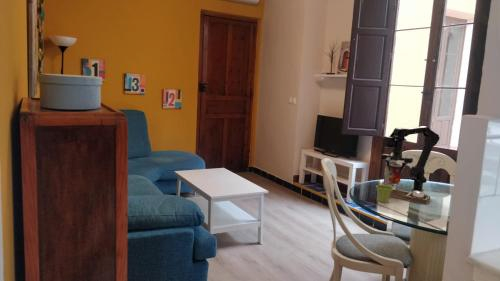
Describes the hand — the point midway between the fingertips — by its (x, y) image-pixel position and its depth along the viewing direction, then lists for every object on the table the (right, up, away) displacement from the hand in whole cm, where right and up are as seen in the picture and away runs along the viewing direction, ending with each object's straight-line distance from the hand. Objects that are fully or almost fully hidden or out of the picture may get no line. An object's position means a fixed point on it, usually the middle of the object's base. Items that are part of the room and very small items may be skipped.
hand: (395, 171), depth 259 cm
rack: (+3, -15, -13) cm, 20 cm away
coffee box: (+3, -10, +22) cm, 25 cm away
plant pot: (-15, -16, -23) cm, 32 cm away
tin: (+8, -16, -16) cm, 24 cm away
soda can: (0, -8, +1) cm, 8 cm away
